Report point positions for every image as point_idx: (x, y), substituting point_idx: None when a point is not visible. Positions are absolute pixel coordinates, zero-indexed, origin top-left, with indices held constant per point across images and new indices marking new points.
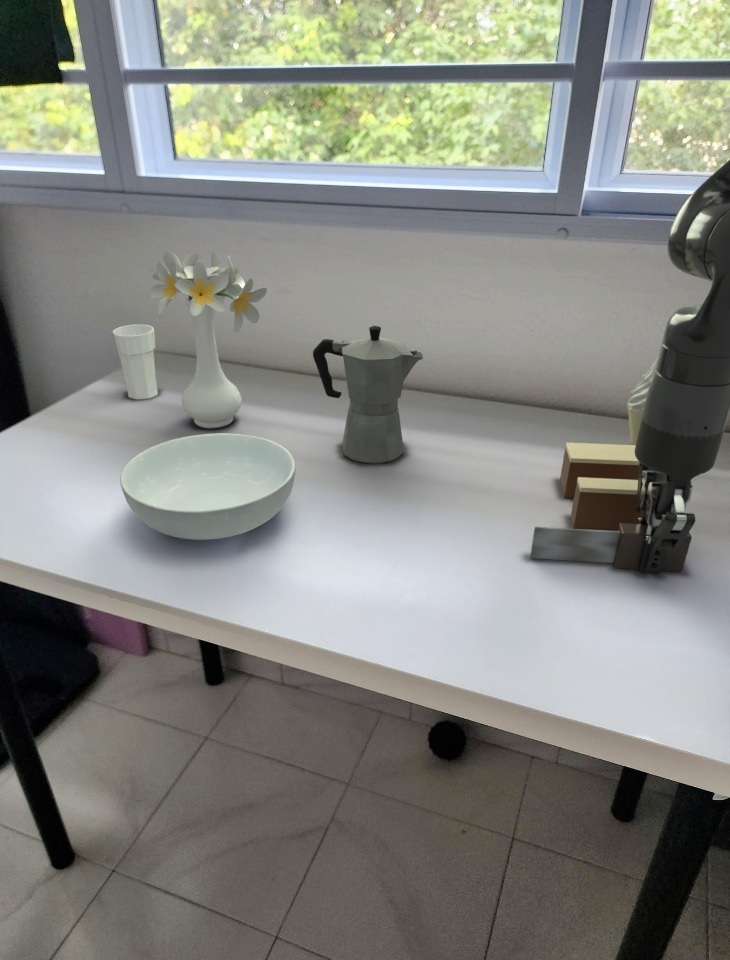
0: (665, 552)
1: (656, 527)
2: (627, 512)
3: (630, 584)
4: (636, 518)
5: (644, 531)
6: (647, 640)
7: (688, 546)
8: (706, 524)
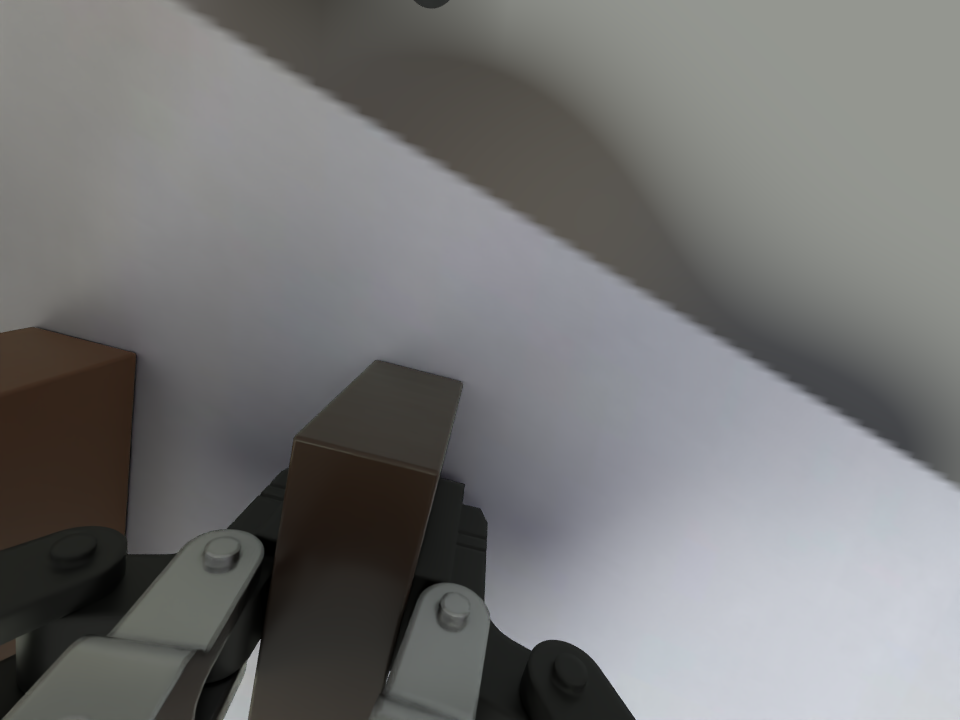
0: (455, 549)
1: (298, 621)
2: (31, 531)
3: (512, 603)
4: (64, 464)
5: (343, 705)
6: (825, 687)
7: (446, 443)
8: (25, 6)
